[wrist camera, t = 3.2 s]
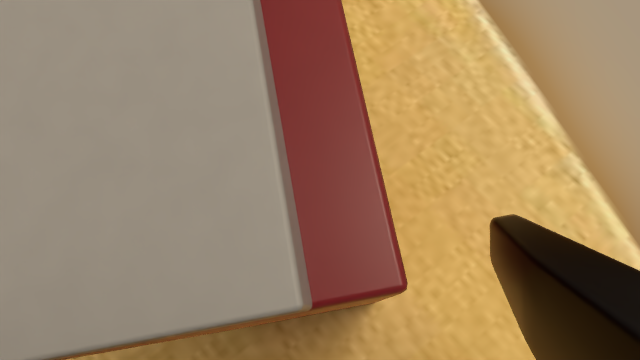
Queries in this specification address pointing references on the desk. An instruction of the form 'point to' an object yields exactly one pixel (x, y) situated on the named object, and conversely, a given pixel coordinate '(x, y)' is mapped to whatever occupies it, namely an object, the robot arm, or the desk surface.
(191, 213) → the red post with hook
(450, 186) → the desk surface
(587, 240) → the desk surface
